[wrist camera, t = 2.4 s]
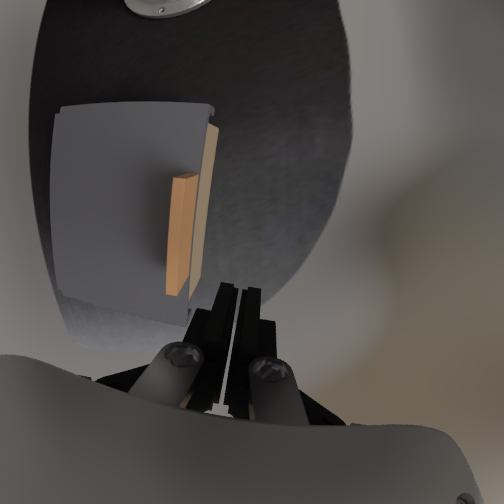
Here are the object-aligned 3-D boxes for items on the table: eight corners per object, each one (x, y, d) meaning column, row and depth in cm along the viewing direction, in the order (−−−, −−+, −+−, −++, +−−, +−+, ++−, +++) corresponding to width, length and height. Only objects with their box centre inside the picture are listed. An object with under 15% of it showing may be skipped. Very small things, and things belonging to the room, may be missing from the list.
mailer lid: (70, 109, 19) (30, 105, 14) (214, 108, 20) (198, 94, 14) (69, 284, 26) (39, 310, 20) (191, 314, 26) (175, 351, 21)
